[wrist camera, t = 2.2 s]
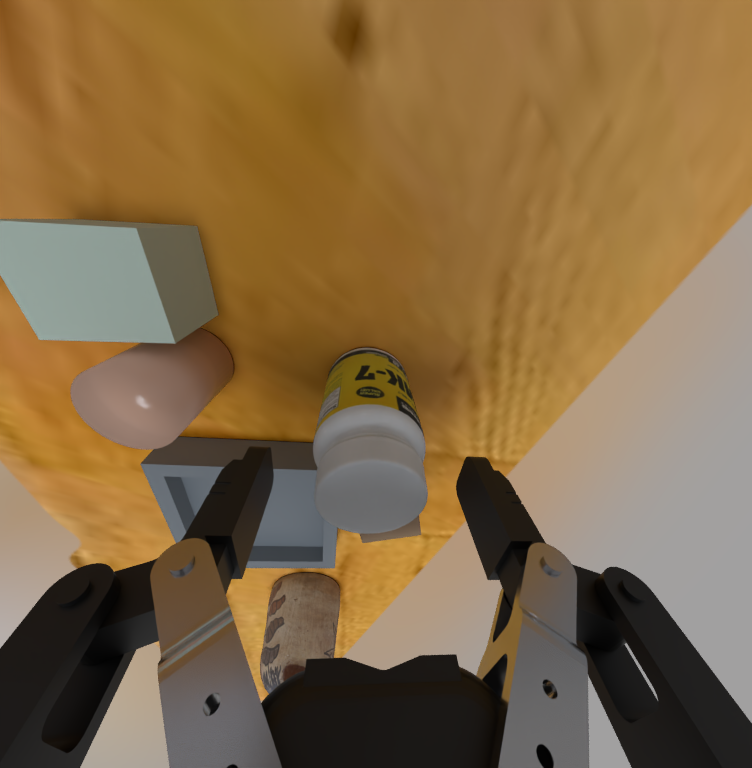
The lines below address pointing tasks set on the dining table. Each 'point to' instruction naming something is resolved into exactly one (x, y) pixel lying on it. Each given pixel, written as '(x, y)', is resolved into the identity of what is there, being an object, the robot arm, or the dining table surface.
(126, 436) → the pink rounded capsule
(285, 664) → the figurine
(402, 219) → the dining table surface
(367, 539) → the walnut block
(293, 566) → the tray
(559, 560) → the robot arm
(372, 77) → the dining table surface
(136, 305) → the sage block
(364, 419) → the supplement bottle
